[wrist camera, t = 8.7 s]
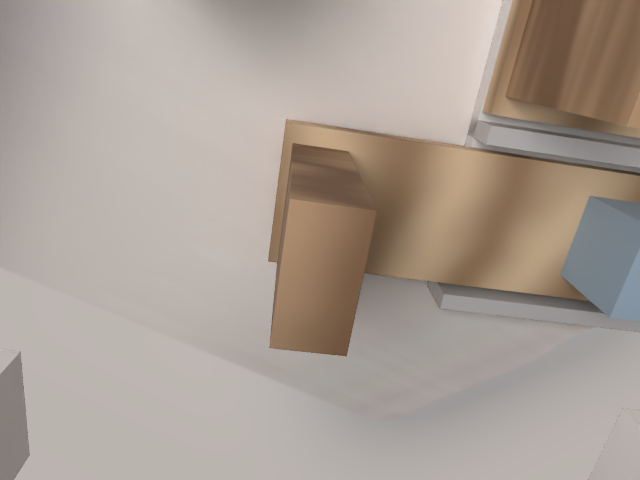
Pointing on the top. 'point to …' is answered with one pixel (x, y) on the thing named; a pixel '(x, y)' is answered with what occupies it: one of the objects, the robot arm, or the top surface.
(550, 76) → the wooden bookend
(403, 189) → the tan wooden l-shaped piece
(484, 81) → the board
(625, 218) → the block
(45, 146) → the top surface
